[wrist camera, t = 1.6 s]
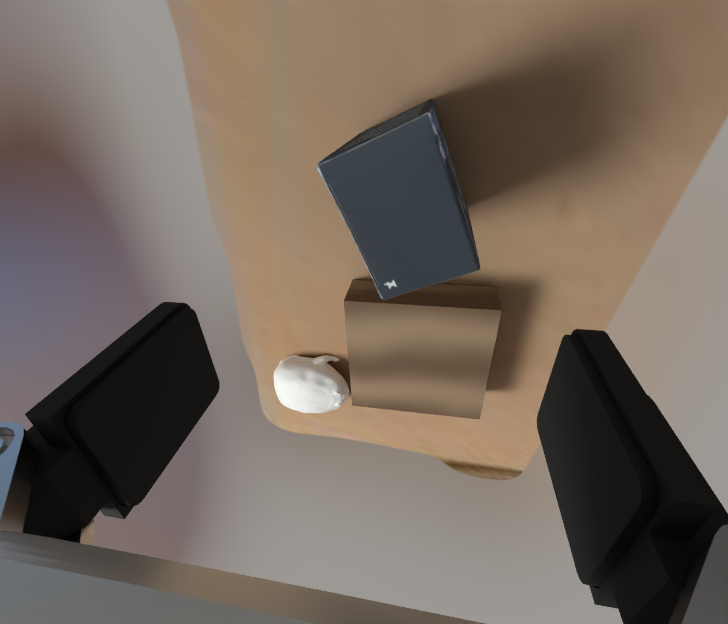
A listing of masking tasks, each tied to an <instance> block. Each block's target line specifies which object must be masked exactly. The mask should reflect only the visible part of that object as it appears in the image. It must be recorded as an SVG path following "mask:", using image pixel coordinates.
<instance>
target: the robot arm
mask: <svg viewBox="0 0 728 624" xmlns="http://www.w3.org/2000/svg"><path fill="white" fill-rule="evenodd" d="M218 391H219V380H218V377H217V374H216V371H215V368H214V365H213V362H212V359H211V356H210V353H209V350H208V348H207V344H206V341H205V339H204V336H203V333H202V330H201V327H200V324H199V321H198V318H197V315H196V313H195V311H194V310H193V309H191V308H190V306H188V304H185V303H175V302H163V303H161V304H160V305H159V306H157V307H156V308H155V309H154V310H152V311H151V312H150V313H149V314H147V315H146V316H145V317H144V318H143V319H142V320H140V321H139V322H138V323H136V324H135V325H134V326H133V327H131V328H130V329H129V330H128V331H127V332H125V333H124V334H123V335H122V336H120V337H119V338H118V339H117V340H115V341H114V342H113V343H112V344H111V345H109V346H108V347H107V348H106V349H104V350H103V351H102V352H101V353H99V354H98V355H97V356H96V357H95V358H93V359H92V360H91V361H90V362H88V363H87V364H86V365H85V366H84V367H82V368H81V369H80V370H79V371H77V372H76V373H75V374H74V375H72V376H71V377H70V378H69V379H67V380H66V381H65V382H64V383H63V384H61V385H60V386H59V387H58V388H56V389H55V390H54V391H53V392H52V393H50V394H49V395H48V396H47V397H45V398H44V399H43V400H42V401H41V402H39V403H38V404H37V405H36V406H34V407H33V408H32V409H31V410H30V411H28V412H27V413H26V414H25V415H26V416H27V418H28V419H29V420H30V421H31V423H32V424H33V425H34V426H32V427H31V428H30V429H29V430H28V431H26V430H25V429H24V428H23V427H22V426H21V425H20V424H19V423H16V422H12V421H9V422H0V624H484V623H479V622H474V621H469V620H464V619H459V618H454V617H449V616H445V615H440V614H435V613H430V612H425V611H420V610H415V609H410V608H405V607H400V606H395V605H390V604H385V603H380V602H376V601H371V600H365V599H361V598H355V597H351V596H346V595H341V594H336V593H331V592H326V591H321V590H316V589H311V588H306V587H301V586H296V585H291V584H286V583H281V582H276V581H271V580H266V579H261V578H256V577H251V576H246V575H240V574H236V573H231V572H225V571H220V570H215V569H210V568H205V567H200V566H195V565H190V564H185V563H180V562H174V561H170V560H164V559H159V558H154V557H148V556H144V555H138V554H133V553H128V552H122V551H117V550H112V549H107V548H102V547H96V546H93V529H94V517H95V516H96V514H97V513H98V512H99V510H101V512H102V513H103V514H104V515H105V516H110V517H116V518H121V519H125V518H126V516H127V515H128V514H129V512H130V511H131V509H132V508H133V507H134V506H135V505H138V504H139V503H140V502H141V501H142V500H143V499H144V498H145V496H146V495H147V493H148V492H149V490H150V489H151V488H152V486H153V485H154V483H155V482H156V480H157V479H158V478H159V476H160V475H161V473H162V472H163V471H164V469H165V468H166V466H167V465H168V463H169V462H170V461H171V459H172V458H173V456H174V455H175V453H176V452H177V451H178V449H179V448H180V446H181V445H182V443H183V442H184V441H185V439H186V438H187V436H188V435H189V433H190V432H191V431H192V429H193V428H194V426H195V425H196V424H197V422H198V421H199V419H200V418H201V416H202V415H203V413H204V412H205V411H206V409H207V408H208V406H209V405H210V404H211V402H212V401H213V399H214V398H215V396H216V395H217V393H218ZM537 428H538V433H539V436H540V440H541V444H542V447H543V451H544V454H545V458H546V462H547V465H548V469H549V472H550V476H551V479H552V483H553V487H554V491H555V494H556V498H557V501H558V505H559V509H560V512H561V516H562V520H563V523H564V527H565V530H566V534H567V537H568V541H569V544H570V548H571V552H572V555H573V559H574V563H575V567H576V570H577V573H578V576H579V578H580V580H581V582H582V583H583V584H586V585H589V586H590V589H591V593H592V596H593V599H594V603H595V604H596V605H601V606H607V607H613V608H618V609H619V612H620V615H621V618H622V621H623V623H624V624H728V513H727V512H726V511H725V509H724V507H723V506H722V504H721V503H720V501H719V500H718V498H717V497H716V495H715V494H714V492H713V491H712V489H711V488H710V486H709V485H708V483H707V482H706V480H705V478H704V477H703V475H702V474H701V472H700V471H699V469H698V468H697V466H696V465H695V463H694V462H693V460H692V459H691V457H690V456H689V454H688V453H687V451H686V450H685V449H684V447H683V445H682V444H681V442H680V441H679V439H678V437H677V436H676V434H675V433H674V431H673V430H672V428H671V427H670V425H669V424H668V422H667V421H666V419H665V418H664V416H663V415H662V413H661V412H660V410H659V409H658V407H657V406H656V404H655V402H654V401H653V400H652V399H651V398H650V397H649V396H648V395H647V394H646V393H645V391H644V390H643V388H642V387H641V385H640V384H639V382H638V380H637V379H636V377H635V376H634V374H633V373H632V371H631V370H630V368H629V367H628V365H627V364H626V362H625V361H624V359H623V358H622V356H621V354H620V353H619V351H618V350H617V348H616V347H615V345H614V344H613V342H612V341H611V339H610V338H609V336H608V334H607V333H606V332H604V331H598V330H583V329H576V330H574V331H573V332H572V334H571V335H565V336H564V337H563V339H562V341H561V344H560V347H559V350H558V353H557V357H556V360H555V363H554V366H553V369H552V372H551V375H550V378H549V381H548V384H547V387H546V391H545V394H544V397H543V400H542V403H541V406H540V409H539V412H538V416H537Z"/></svg>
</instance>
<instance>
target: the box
mask: <svg viewBox="0 0 728 624" xmlns="http://www.w3.org/2000/svg"><path fill="white" fill-rule="evenodd" d="M317 169H318V172H319V173H320V175H321V176H322V178H323V180H324V182H325V183H326V185H327V187H328V189H329V191H330V193H331V195H332V197H333V199H334V201H335V202H336V205H337V207H338V209H339V211H340V213H341V215H342V217H343V219H344V221H345V223H346V225H347V227H348V229H349V231H350V233H351V235H352V237H353V239H354V241H355V243H356V245H357V248H358V249H359V252H360V254H361V256H362V258H363V260H364V262H365V264H366V266H367V269H368V270H369V273H370V275H371V277H372V279H373V281H374V284H375V286H376V288H377V290H378V293H379V295H380V297H381V298H382V299H383V300H387V299H389V298H392V297H395V296H398V295H402V294H405V293H408V292H411V291H415V290H418V289H421V288H424V287H428V286H431V285H434V284H437V283H441V282H444V281H447V280H451V279H454V278H457V277H460V276H463V275H466V274H469V273H472V272H474V271H477V270H479V269H480V264H479V258H478V254H477V250H476V245H475V240H474V236H473V231H472V227H471V222H470V218H469V214H468V208H467V205H466V202H465V199H464V196H463V193H462V190H461V187H460V184H459V181H458V178H457V174H456V171H455V168H454V165H453V162H452V159H451V155H450V152H449V149H448V145H447V143H446V140H445V136H444V133H443V130H442V127H441V123H440V120H439V117H438V113H437V109H436V106H435V103H434V100H433V99H430V100H428V101H426V102H424V103H422V104H420V105H418V106H415V107H414V108H411V109H409V110H407V111H405V112H403V113H401V114H399V115H397V116H395V117H393V118H391V119H389V120H387V121H385V122H383V123H381V124H378V125H376V126H374V127H372V128H370V129H368V130H366V131H364V132H362V133H360V134H358V135H357V136H356V137H354V138H353V139H351V140H350V141H349V142H347V143H345V144H344V145H343V146H341V147H340V148H339V149H337V150H336V151H335V152H333V153H331V154H330V155H329V156H327V157H326V158H324V159H323V160H322V161H321V162H320V163H319V164H318V167H317Z"/></svg>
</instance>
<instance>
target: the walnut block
mask: <svg viewBox="0 0 728 624" xmlns="http://www.w3.org/2000/svg"><path fill="white" fill-rule="evenodd" d="M344 308H345V321H346V333H347V346H348V358H349V370H350V383H351V395H352V406H362V407H371V408H380V409H389V410H398V411H408V412H417V413H426V414H435V415H445V416H454V417H463V418H472V419H480V415H481V410H482V405H483V400H484V395H485V390H486V386H487V381H488V376H489V371H490V366H491V361H492V356H493V351H494V346H495V342H496V337H497V332H498V327H499V322H500V317H501V312H502V309H501V305H500V301H499V297H498V293H497V290H496V287H493V286H473V285H453V284H434V285H431V286H428V287H424V288H421V289H418V290H415V291H411V292H408V293H405V294H402V295H398V296H395V297H392V298H389V299H387V300H383V299H382V298H381V297H380V295H379V293H378V290H377V288H376V286H375V284H374V281H373V280H354V279H353V280H352V283H351V285H350V288H349V290H348V292H347V295H346V297H345V299H344Z"/></svg>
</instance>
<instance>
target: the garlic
mask: <svg viewBox="0 0 728 624" xmlns="http://www.w3.org/2000/svg"><path fill="white" fill-rule="evenodd" d="M328 361H334V362H337V361H339V359H338V358H336V357H333V356H330V355H323V356H320V357H316V358H308V357H301V356H298V355H291V356H288V357H287V358H285V359H283V360H281V361H280V363H279V366H278V367H277V368H276V370H275V372H274V385H275V390H276V393H277V396H278V398H279V400H280V402H281V403H282V404H283V405H284V406H286V407H288V408H291V409H293V410H296V411H300V412H303V413H324V412H328V411H331V410H336V409H338V408H339V407H340V406H341V405H342V404H343V403H344V402H345V400H346V399H347V398H348V396H349V387H348V385H347V383H346V381H345V379H344V378H343V377H342V375H341V374H339V373H338V372H337V371H336V370H335V369H334V368H333V367H332V366H331V365H329V364H328V363H327V362H328Z"/></svg>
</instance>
